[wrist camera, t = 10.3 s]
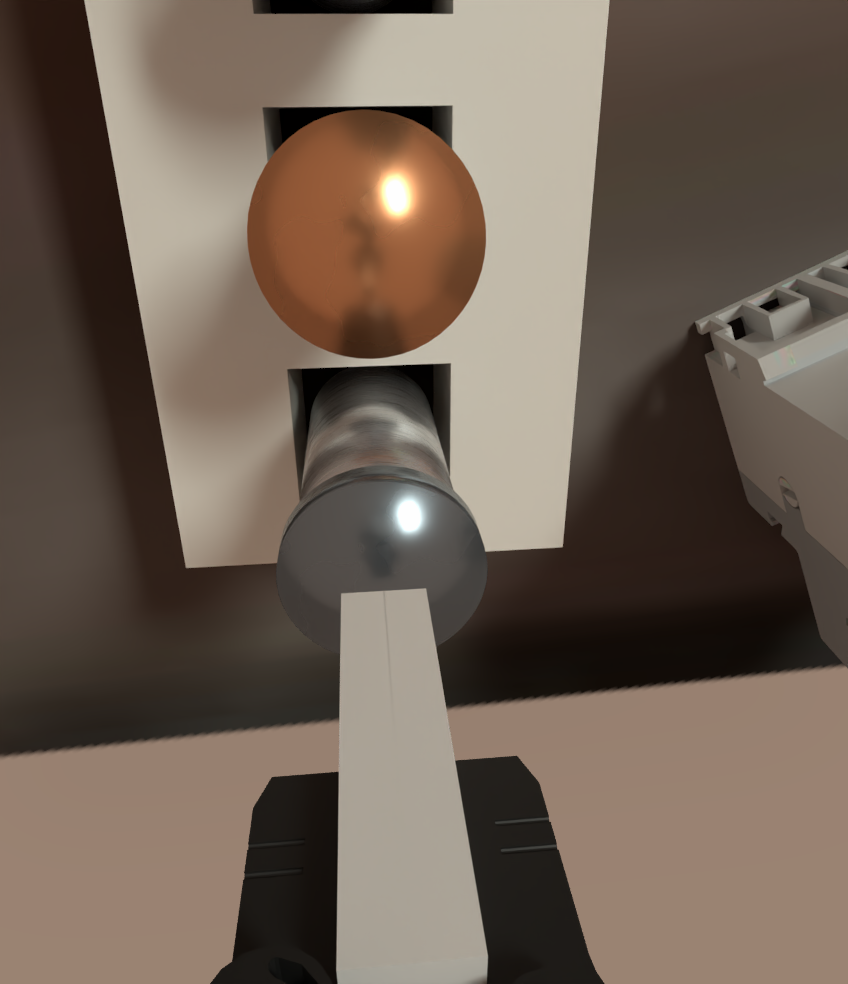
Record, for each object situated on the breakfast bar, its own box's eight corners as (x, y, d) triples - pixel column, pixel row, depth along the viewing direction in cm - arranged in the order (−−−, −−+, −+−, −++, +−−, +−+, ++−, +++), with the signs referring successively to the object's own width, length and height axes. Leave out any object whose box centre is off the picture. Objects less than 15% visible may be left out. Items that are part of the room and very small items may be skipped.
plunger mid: (276, 112, 21) (232, 110, 13) (436, 110, 21) (489, 108, 13) (290, 276, 23) (260, 362, 15) (437, 272, 23) (482, 355, 15)
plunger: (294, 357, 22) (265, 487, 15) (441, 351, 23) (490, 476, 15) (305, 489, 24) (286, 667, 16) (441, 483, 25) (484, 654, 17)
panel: (95, -264, 19) (15, -383, 14) (572, -251, 19) (639, -360, 15) (211, 496, 28) (186, 568, 24) (529, 480, 29) (562, 547, 24)
